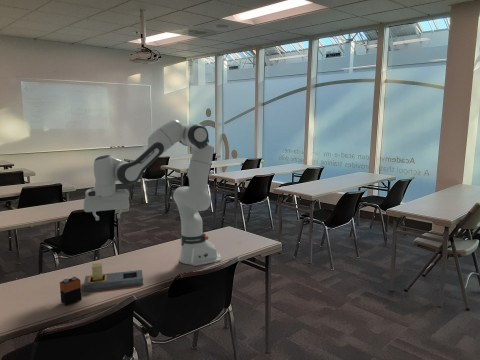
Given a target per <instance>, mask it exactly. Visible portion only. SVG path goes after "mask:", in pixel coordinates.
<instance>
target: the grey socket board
mask: <svg viewBox="0 0 480 360" xmlns="http://www.w3.org/2000/svg"><path fill="white" fill-rule="evenodd" d="M141 285H144V276H143V269H138V270H128V271H120V272H119V271H118V272H111V273H103V281H96V282H93V275H85V277H84V281H83V292H84V293H85V292H92V291H100V290H102V291H103V290H108V289H110V290H111V289H117V288H124V287H133V286H141Z"/></svg>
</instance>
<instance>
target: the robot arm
mask: <svg viewBox="0 0 480 360" xmlns="http://www.w3.org/2000/svg"><path fill="white" fill-rule="evenodd" d="M176 143H180V144H181V145H183V146H186V147H191V150H192V152H191V153H192V154H191V157H190V160H189V166H188V168H187V172H186V175H187V178H188V185H187V186H185V185H184V186H179V187H177V188H176V189H175V190H174V192H173V195H172V196H173V200H174V203H175V204H176V207H177V209H178V212H179V216H180V223H181V224H180V227H181V229H180V230H181V234H180V245H181V247H180V248H181V249H180V254H179V259H178V260H179V262H180V263H182V264H186V265H190V266H193V267H195V266H201V265H206V264H208V265H209V264H212V263H216V262H217V263H218V262H221V261H222V256H221V254H220V253H219V252H218V251H217V248H216V246H215V245H214V244H213V243H212V242H210V241H208V239H209V235H207V234H206V233H205V232H203V219H202V217H201V214H200V213H199V212H202V211H203V212H204V211H207V210H208V209H209V208H210V206H211V203H212V199H211V196H210V194H209V190H208V187H209V186H208V181H209V180H208V179H209V176H210V171H211V167H212V162H213V155H214V148H213V145H212V144H211V143H210V140H209V130H208V129H207V128H206V126H204V125H202V124H193V123H192V124H189V125H183V123H182V122H180V121H179V120H178V119H170V120H169V121H167V122H165V123H163V124H162V125H161V126H159V127H158V128H156V129H155V130H154V131H153V132H152V133H151V134H150V136H149V137H148V138H147V145H148V146H147V148H146V149H145V150H144V152H142V153H141V154H140V155H139V156H138V157H136V159H135V160H132V161H130V162H128V161H126V160H125V161H124V160H123V159H118V158H116V157H114V156H112V155H110V154H106V155H105V154H104V155H101V156H97V157H96V158H95V159H94V160H93V175H94V179H95V183H94V187H91V188H89V189H87V190H86V191H85V193H84V194H85V196H84V200H83V211H84V212H85V213H92V215H93V217H94V218H95V221H99V220H100V216H99V215H97V214H96V213H97V212H103V211H104V212H105V211H113V210H118V211H119V212H118V213H117V214H116V218H117V219H121V215H122V212H123V209H126V210H127V209H129V208H130V199H129V198H130V196H131V195H130V191H129V190H128V189H126V188H123V189H122V188H121V189H120V188H119V189H117V188H116V182H118V181H119V182H120V183H121V184H122V185H124V186H132V185H136V184H137V183H139V181H140V180H141V177H142V175H143V174H144V172H145V171H146V170H147V169H148V168H149V167H150V166H151V165H152V164H153V163H154V162H155V161H156V160H157V159H158V158H159V157H160V156H162V155H163V154H164V153H166V152H167V151H168V150H169V149H170V148H172V147H173V146H175V144H176Z"/></svg>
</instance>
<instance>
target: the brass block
mask: <svg viewBox="0 0 480 360" xmlns="http://www.w3.org/2000/svg"><path fill="white" fill-rule="evenodd" d="M91 273H92V275H93V282H96V281H103V274H104V271H103V262H97V263H92V265H91Z"/></svg>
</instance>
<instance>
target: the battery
mask: <svg viewBox="0 0 480 360" xmlns="http://www.w3.org/2000/svg"><path fill="white" fill-rule="evenodd" d="M81 282H82V281H81V279H80V278H78V277H77V276H73V277H71V278H65V279H62V281H59V289H60V290H59V291H60V292H59V293H60V302H61V304H63V305H64V306H66V305H67V306H69V305H71V304H75V303H77V302H80V301H82V298H83V297H82V286H81V285H82V284H81Z"/></svg>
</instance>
